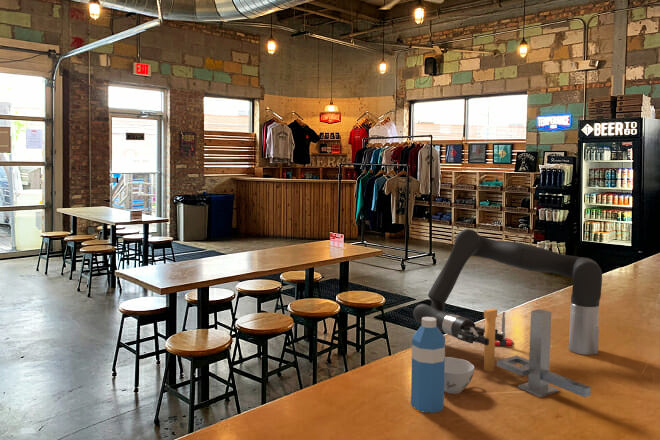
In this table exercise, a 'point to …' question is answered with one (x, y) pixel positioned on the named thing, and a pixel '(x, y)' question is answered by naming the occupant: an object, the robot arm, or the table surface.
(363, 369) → the table surface
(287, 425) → the table surface
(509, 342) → the red handwheel with stem
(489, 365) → the wedge pin
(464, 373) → the teacup
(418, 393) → the water bottle
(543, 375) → the scaffold post with crossbars
